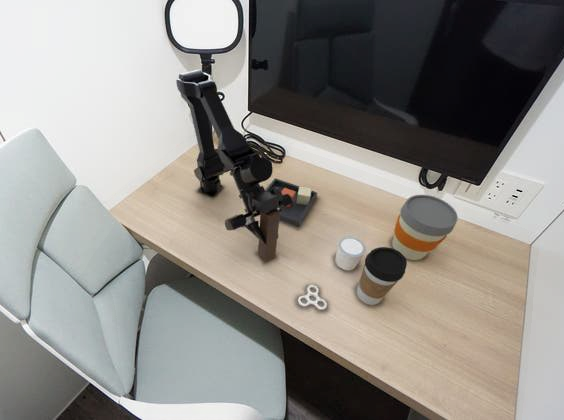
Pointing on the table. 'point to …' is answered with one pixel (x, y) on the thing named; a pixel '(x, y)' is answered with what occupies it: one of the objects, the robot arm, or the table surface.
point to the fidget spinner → (311, 300)
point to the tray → (295, 211)
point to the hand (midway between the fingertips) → (271, 241)
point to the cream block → (303, 195)
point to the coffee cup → (380, 274)
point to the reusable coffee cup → (422, 225)
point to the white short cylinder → (349, 252)
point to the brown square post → (269, 234)
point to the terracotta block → (290, 192)
